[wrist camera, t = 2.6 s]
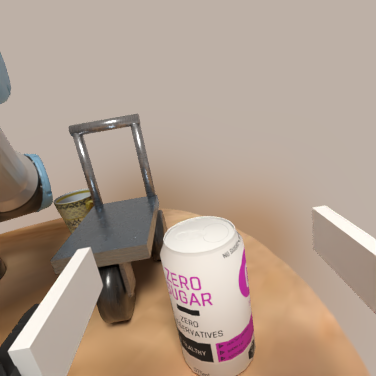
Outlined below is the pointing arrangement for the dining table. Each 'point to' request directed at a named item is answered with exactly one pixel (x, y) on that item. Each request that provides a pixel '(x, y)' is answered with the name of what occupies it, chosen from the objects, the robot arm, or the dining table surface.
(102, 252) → the trolley
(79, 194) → the ceramic cup
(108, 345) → the dining table surface
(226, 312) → the supplement can
